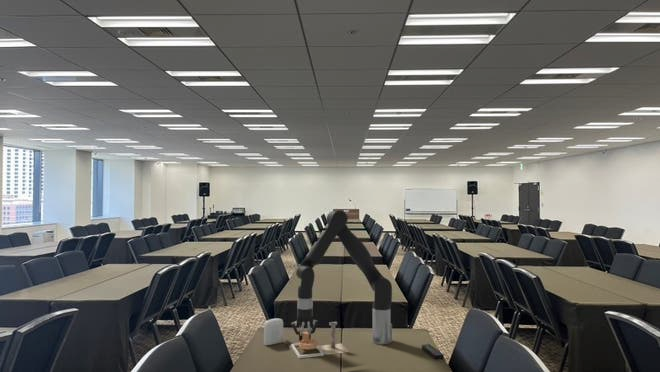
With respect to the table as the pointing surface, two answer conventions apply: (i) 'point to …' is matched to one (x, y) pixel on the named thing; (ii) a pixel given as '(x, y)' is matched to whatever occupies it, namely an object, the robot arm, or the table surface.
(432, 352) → the multiport hub
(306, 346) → the terracotta ring
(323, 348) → the stake board
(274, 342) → the photo printer
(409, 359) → the table surface
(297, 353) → the white tray
